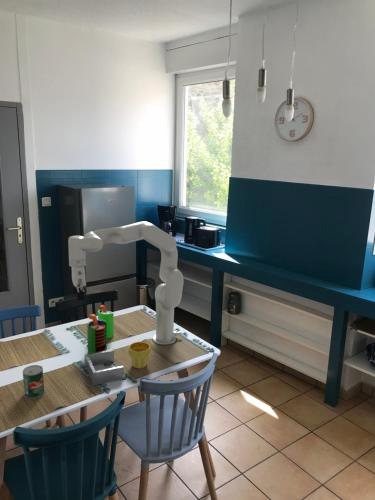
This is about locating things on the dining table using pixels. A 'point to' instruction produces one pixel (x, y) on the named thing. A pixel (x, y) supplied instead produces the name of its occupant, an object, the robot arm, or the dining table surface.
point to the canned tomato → (33, 381)
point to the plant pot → (139, 354)
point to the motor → (96, 335)
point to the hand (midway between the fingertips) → (78, 296)
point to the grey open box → (105, 374)
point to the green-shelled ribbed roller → (109, 318)
